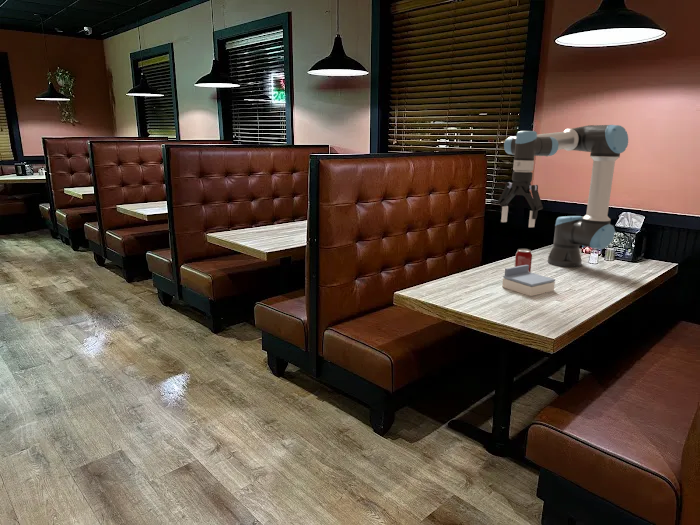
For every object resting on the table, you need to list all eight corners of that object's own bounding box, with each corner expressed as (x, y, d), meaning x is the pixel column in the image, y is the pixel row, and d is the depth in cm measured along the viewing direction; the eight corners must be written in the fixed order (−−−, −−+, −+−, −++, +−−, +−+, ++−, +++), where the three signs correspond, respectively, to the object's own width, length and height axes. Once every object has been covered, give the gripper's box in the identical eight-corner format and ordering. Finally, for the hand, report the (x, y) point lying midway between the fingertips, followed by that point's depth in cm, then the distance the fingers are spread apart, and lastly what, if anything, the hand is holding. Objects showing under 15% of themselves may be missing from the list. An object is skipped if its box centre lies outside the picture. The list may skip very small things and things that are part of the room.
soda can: (530, 279, 214) (533, 252, 211) (514, 278, 215) (517, 251, 212) (528, 275, 220) (531, 249, 218) (512, 274, 222) (515, 248, 219)
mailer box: (525, 282, 210) (526, 273, 210) (553, 290, 199) (554, 282, 198) (502, 286, 203) (503, 278, 202) (530, 296, 192) (531, 287, 191)
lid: (526, 273, 209) (527, 264, 208) (554, 281, 198) (556, 272, 197) (503, 277, 202) (503, 268, 201) (531, 286, 191) (532, 276, 190)
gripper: (491, 169, 205) (487, 220, 210) (544, 173, 185) (537, 230, 190) (503, 169, 209) (499, 219, 214) (556, 173, 189) (549, 228, 194)
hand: (517, 224), depth 202 cm, fingers open, 13 cm apart
